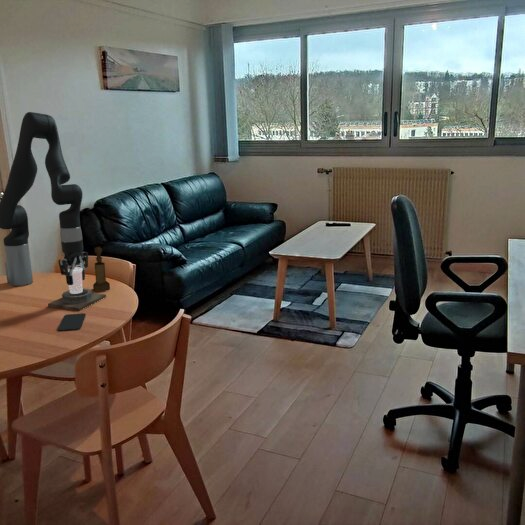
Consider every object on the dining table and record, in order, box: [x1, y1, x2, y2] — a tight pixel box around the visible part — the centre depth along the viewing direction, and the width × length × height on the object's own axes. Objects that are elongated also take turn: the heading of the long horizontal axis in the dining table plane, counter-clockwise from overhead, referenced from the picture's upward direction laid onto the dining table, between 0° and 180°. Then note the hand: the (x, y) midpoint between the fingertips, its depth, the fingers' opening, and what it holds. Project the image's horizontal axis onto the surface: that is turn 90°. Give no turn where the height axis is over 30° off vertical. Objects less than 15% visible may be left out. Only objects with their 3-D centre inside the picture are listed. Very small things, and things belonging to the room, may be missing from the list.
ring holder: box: [47, 288, 107, 312], centre depth 199 cm, size 14×16×4 cm
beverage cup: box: [68, 266, 84, 294], centre depth 197 cm, size 6×6×14 cm
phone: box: [57, 312, 86, 332], centre depth 180 cm, size 7×1×15 cm
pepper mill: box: [92, 246, 111, 293], centre depth 212 cm, size 7×6×18 cm
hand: (76, 282), depth 198 cm, fingers closed on beverage cup, 6 cm apart
